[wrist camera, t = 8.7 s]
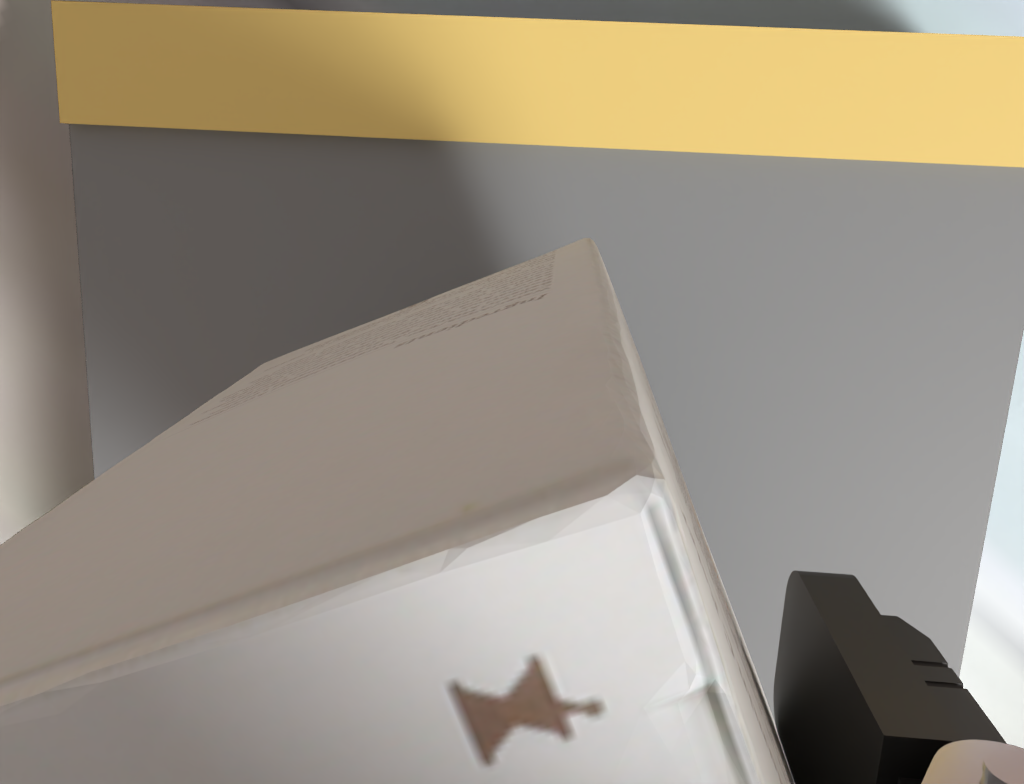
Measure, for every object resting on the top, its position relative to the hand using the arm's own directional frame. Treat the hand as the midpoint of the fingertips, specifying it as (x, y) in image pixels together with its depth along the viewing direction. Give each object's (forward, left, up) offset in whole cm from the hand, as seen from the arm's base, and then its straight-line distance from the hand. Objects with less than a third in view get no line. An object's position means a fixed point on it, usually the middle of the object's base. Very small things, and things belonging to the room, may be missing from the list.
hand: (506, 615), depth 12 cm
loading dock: (0, 0, -11) cm, 11 cm away
